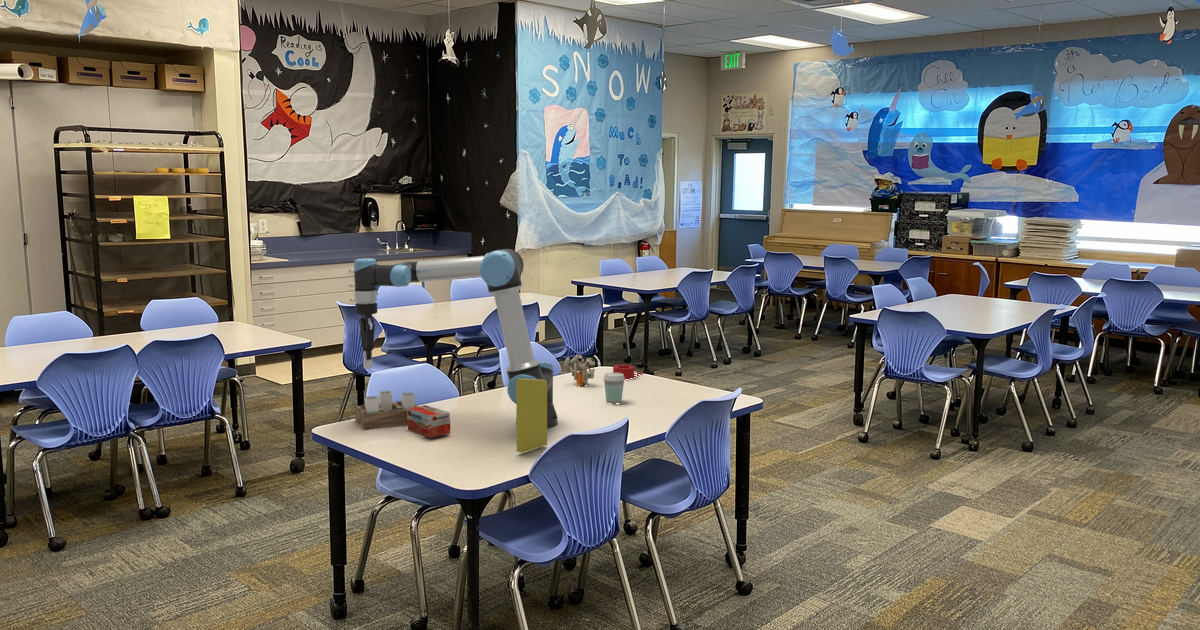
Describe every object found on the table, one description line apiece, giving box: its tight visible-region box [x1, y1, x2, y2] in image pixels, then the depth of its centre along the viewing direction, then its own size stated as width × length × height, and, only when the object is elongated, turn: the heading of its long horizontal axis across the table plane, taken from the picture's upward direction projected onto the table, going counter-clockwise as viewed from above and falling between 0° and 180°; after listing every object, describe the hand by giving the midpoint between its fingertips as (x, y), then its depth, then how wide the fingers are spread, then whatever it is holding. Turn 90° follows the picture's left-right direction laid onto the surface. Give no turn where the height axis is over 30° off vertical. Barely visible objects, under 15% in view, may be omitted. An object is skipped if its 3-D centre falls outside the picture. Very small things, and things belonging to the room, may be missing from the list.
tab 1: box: [364, 395, 379, 413], centre depth 304 cm, size 3×4×7 cm
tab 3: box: [400, 392, 416, 409], centre depth 310 cm, size 3×4×7 cm
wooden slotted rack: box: [354, 400, 419, 431], centre depth 310 cm, size 14×20×6 cm
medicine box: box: [407, 404, 451, 439], centre depth 298 cm, size 15×8×8 cm, turn 46°
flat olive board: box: [515, 378, 548, 454], centre depth 279 cm, size 12×2×24 cm, turn 141°
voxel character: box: [562, 354, 596, 387], centre depth 366 cm, size 11×10×15 cm
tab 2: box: [378, 389, 393, 411], centre depth 312 cm, size 3×4×7 cm
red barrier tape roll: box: [612, 364, 644, 379], centre depth 387 cm, size 18×9×7 cm, turn 139°
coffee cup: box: [603, 372, 626, 404], centre depth 340 cm, size 8×8×12 cm
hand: (368, 368), depth 305 cm, fingers closed
